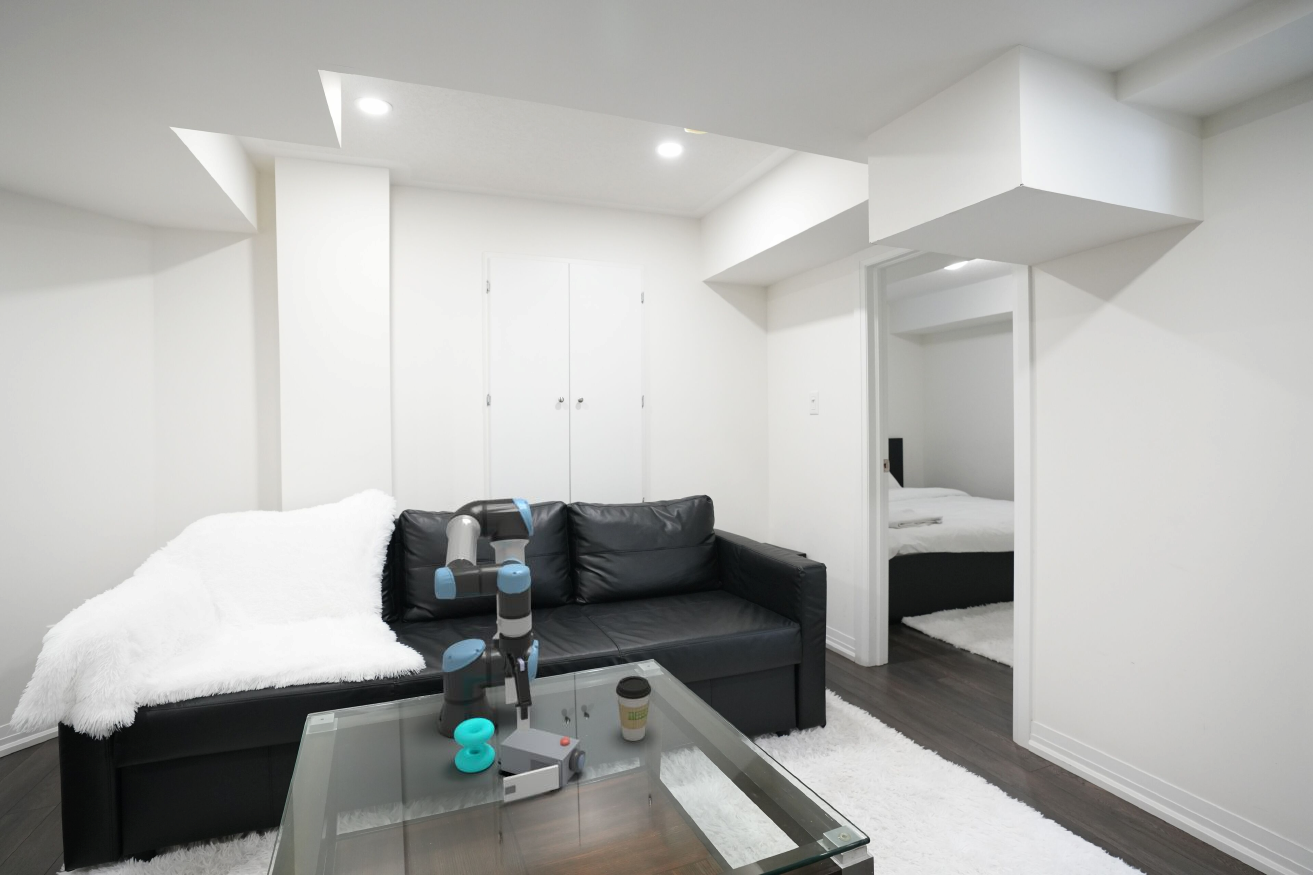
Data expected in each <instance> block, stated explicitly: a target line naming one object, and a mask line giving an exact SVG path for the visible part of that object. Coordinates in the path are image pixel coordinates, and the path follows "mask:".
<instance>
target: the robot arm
mask: <svg viewBox="0 0 1313 875" xmlns="http://www.w3.org/2000/svg"><path fill="white" fill-rule="evenodd" d="M445 529H446V530H445V532H446V537H447V539H448V542H447V549H446V550H447V552H446V560H445V561H446V562H445V565H444V567H439V568H437V569H436V570H435V573H434V594H435V597H436V599H439V600H448V599H449V600H455V599H463V598H473V597H484V596H485V597H486V596H495V595H496V614H497V615H496V617H497V618H496V619H497V620H495V621H496V625H497V632H496V633H495V634H494V636H493V637H492V644H486V643H485V641H484V640H482V639H480V638H469V639H464V640H461V641H458V642H456V643H454V644H452V645H450V646H449V647H448V648H447V649H445V651H444V653H443V656H442V666H441V669H442V670H441V671H442V672H443V673H442V676H443V678H442V679H443V681H442V682H443V703H442V706H441V710H440V713H439V716H438V719H437V721H438V722H437V724H438V731H439V732H440V734H442V735H443V736H445V737H448V738H453V739H455V738H454V732H455V729H456V728H457V727H458V726H459V725H460V724H461V723H462V722H464V721H466V720H469V719H474V718H483V719H487V720H489V721H490V722H492V723H494V712H493V711H494V710H493V708H492V706H491V705H490V701H489V698H488V695H487V689H488V688H497V687H498V688H499V687H504V689H505V691H504V692H505V695H504V696H505V704H506V705H508V704H513V703H514V704H515V703H516V704H515V705H514V707H515V708H516V719H517V720H516V721H517V722H516V726H517V727H516V729H517V731H518V733H520V732H524V731H528V730H530V728H531V726H530V725H531V720H530V719H531V717H530V716H531V714H530V707H531V706H533V702H532V695H531V687H530V683H531V682H533V681H534V680H535V678H536V676H537V671H538V660H539V641H538V640H537V639H534V633H533V632H532V630H531V629H532V627H533V626H532V609H531V603H532V602H531V601H532V598H531V597H532V595H531V587H532V586H531V584H532V579H531V569H530V568H529V566H527V565H526V562H525V560H526V558H525V546H527V544H529V542H530V537H531V536H533V535H534V524H533V517H532V513H531V508H530V504H529V502H528V500H526V499H525V498H513V497H511V498H500V499H499V498H497V499H482V500H481V499H479V500H478V499H477V500H473V501H470V502H467V503H465V504H463V505H462V506H461V507H459V508H458V509H456V510H455V511H454V512H453V514H452V515H451V516H450V518H449V519H448V521H447V523H446V528H445ZM479 539H481V540H482V539H489V544H490V545H489V546H491V547H492V548H493V549H494V551H495V553H494V554H495V563H490V564H489V563H488V564H477V541H478V540H479Z"/></svg>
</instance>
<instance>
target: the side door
mask: <svg viewBox="0 0 1313 875" xmlns="http://www.w3.org/2000/svg"><path fill="white" fill-rule="evenodd" d="M502 780H503V781H502V782H503V784H502V785H503V802H504V803H508V802H512V801H514V800H515V801H516V800H519V799H523V798H526V797H529V796H530V797H531V796H534V795H537V794H542V793H545V792H549V791H553V790H557V789H561V788H562V787H561V761H558V762H557V765H554V766H550V767H546V768H542V769H538V770H534V771H530V772H526V773H522V774H515V775H511V776H507V777H503V778H502Z"/></svg>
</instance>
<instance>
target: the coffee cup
mask: <svg viewBox="0 0 1313 875" xmlns="http://www.w3.org/2000/svg"><path fill="white" fill-rule="evenodd" d="M615 692H616V695H617V703H618V713H619V719H620V725H621V732H622V734H621V735H622V737H623V739H625V740H627V741H630V742H631V741H632V742H634V741H640V740H642V739H644V737H645V734H646V724H647V722H648V716H649V715H648V714H649V713H648V712H649V706H650V694H651V692H652V686H651V685H650V683H649V680H648V679H647V678H645V677H643V676H638V675H629V676H626V677H623V678H620V680H618V683H617V685H616V688H615Z"/></svg>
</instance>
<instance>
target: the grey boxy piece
mask: <svg viewBox="0 0 1313 875" xmlns="http://www.w3.org/2000/svg"><path fill="white" fill-rule="evenodd" d="M499 745H500V770H501V771H503V772H504V771H505V772H508V773H511V774H515V775H518V774H522V773H526V772H530V771H534V770H538V769H542V768H546V767H550V766H554V765H557V762H558V761H561V788H564V787H565V786H566V784H567V783H568V782H569V781H570V779H572V777H573V776H574V775H575V774H576V773H580V772H581V771H582V770H583V768H584V766H585V762H586V752H585V751H584V750H583V749H581V740H579V739H578V738H577V739H576V738H573V737H569V736H565V735H560V734H557V733H552V732H548V731H544V730H540V729H536V728H533V727H530V730H528V731H524V732H520V733H518V731H517V728H516V729H515V730H514V731H513V732H511V734H510V735H509V736H508V737H507V738H505V739H504V740H503V741H502V742H501V743H500V744H499Z"/></svg>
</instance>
